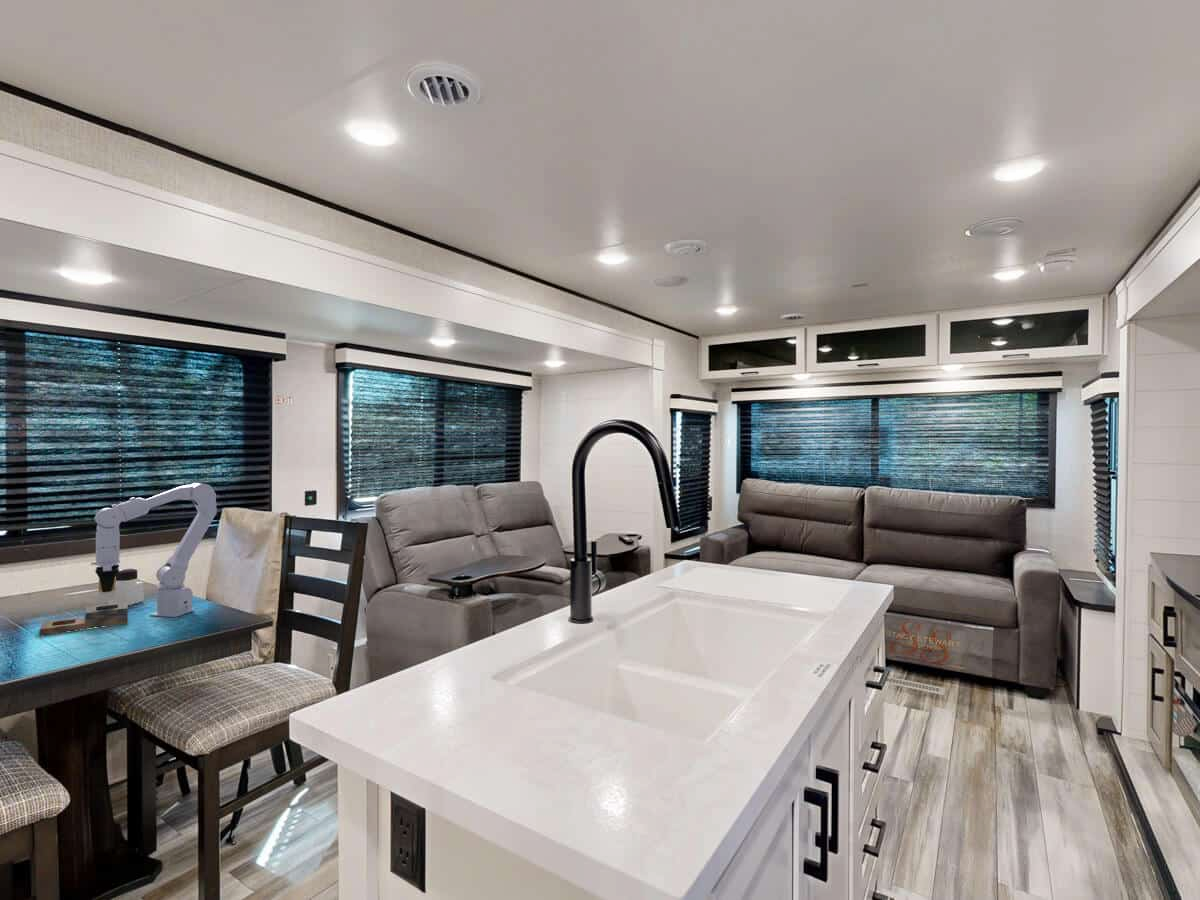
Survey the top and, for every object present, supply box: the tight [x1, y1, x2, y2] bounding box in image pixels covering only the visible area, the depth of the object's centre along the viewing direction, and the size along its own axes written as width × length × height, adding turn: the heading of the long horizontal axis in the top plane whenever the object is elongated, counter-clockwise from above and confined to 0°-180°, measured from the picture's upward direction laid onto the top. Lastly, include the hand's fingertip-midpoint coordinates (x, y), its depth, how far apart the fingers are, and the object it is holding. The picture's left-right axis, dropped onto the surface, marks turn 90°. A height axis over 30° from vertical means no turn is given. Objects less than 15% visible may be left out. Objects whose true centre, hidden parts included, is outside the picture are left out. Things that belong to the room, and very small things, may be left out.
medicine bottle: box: [107, 568, 145, 606], centre depth 209 cm, size 7×7×12 cm
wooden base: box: [39, 602, 129, 637], centre depth 183 cm, size 20×9×5 cm, turn 129°
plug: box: [98, 577, 116, 603], centre depth 186 cm, size 4×4×6 cm
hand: (107, 590), depth 186 cm, fingers closed on plug, 4 cm apart
